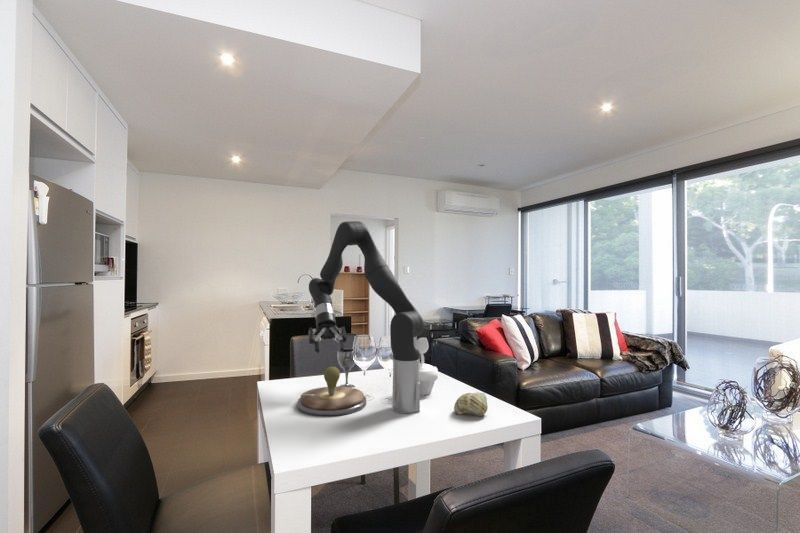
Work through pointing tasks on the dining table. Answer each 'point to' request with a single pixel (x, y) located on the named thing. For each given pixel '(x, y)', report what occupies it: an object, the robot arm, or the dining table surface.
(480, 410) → the seashell
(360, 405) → the turntable base
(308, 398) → the turntable platter
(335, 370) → the light bulb
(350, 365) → the wine glass
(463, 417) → the dining table surface
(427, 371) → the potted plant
